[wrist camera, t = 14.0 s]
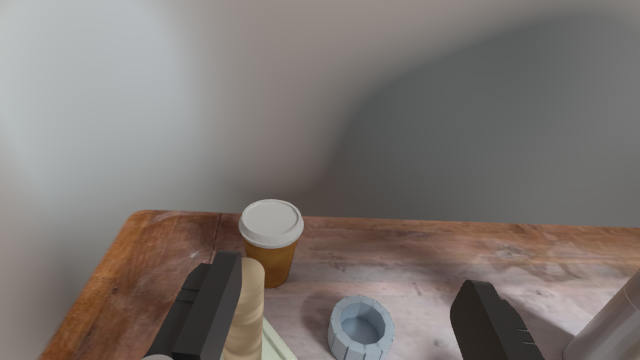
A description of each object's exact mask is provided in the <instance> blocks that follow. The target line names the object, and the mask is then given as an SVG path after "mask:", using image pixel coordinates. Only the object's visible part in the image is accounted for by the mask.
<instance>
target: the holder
mask: <svg viewBox="0 0 640 360" xmlns="http://www.w3.org/2000/svg"><path fill="white" fill-rule="evenodd" d="M387 311H388V310H387V309H385V308H384V307H383V306H382V305H381V304H380V303H379V302H377V301H375V300H374V299H371V298H368V297H365V296H362V295H361V297H360V295H356V296H347V297H345V298H343V299H342V300H341V301H339V302H338V303H337V304H335V306H334V309H333V312H332V315H331V318H330V323H329V327H328V332H327V336H328V344H329V348H330V350H331V352H332V354H333V355H334V357H335V358H336V359H337V360H384V359H385V358H386V357H387V354H388V352H389V350H390V347H391V345H392V342H393V339H394V330H395V327H394V323H393V320H392V318H391V316H390V314H389V312H387Z"/></svg>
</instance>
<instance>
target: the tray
mask: <svg viewBox="0 0 640 360" xmlns="http://www.w3.org/2000/svg"><path fill="white" fill-rule="evenodd" d="M220 360H224V357H223V351H222V354H221V357H220ZM262 360H298V359H297V358H296V357H295V355H294V354H293V353H292V352H291V350H290V349H289V348H288V347H287V345H286V344H285V343H284V341H283V340H282V339H281V338H280V336H279V335H278V334H277V333H276V331H275V330H274V329H273V327H272V326H271V325H270V324H269V322H268V321H267V320H266V319H265V317H264V316H263V333H262Z"/></svg>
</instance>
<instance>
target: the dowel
mask: <svg viewBox="0 0 640 360" xmlns="http://www.w3.org/2000/svg"><path fill="white" fill-rule="evenodd" d="M264 277H265V272H264V268H263V266H262V265H261V264H260V263H259V262H258V261H256V260H255V259H252V258H247V257H242V288H241V293H240V297H239V301H238V304H237V307H236V310H235V313H234V316H233V320H232V323H231V326H230V329H229V332H228V335H227V338H226V341H225V345H224V348H223V357H224V360H262V333H263V305H264Z"/></svg>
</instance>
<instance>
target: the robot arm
mask: <svg viewBox="0 0 640 360" xmlns="http://www.w3.org/2000/svg"><path fill="white" fill-rule="evenodd" d="M241 288H242V255H241V252H236V251H228V250H219V251H218V252H217V254H216V256H215V258H214V260H213V263H212V264H204V263H201V264H200V265H198V266H197V267H196V268H195V269H194V270H193V271H192V272H191V273H190V274H189V275H188V277H187V279H186V280H185V282H184V284H183V286H182V288H181V291H180V292H179V294H178V296H177V298H176V299H175V303H173V305H172V307H171V309H170V311H169V313H168V315H167V316H166V318H165V320H164V322H163V324H162V326H161V328H160V330H159V332H158V334H157V335H156V337H155V339H154V341H153V343H152V345H151V347H150V348H149V350H148V352H147V353H146V354H145V355H144V357H143V358H142V359H141V360H220V357H221V354H222V351H223V348H224V345H225V341H226V338H227V335H228V332H229V329H230V326H231V323H232V320H233V316H234V313H235V310H236V307H237V304H238V301H239V297H240V293H241ZM450 321H451V325H452V328H453V331H454V334H455V337H456V340H457V342H458V345H459V348H460V351H461V354H462V357H463V360H545V359H544V358H543V356H542V354H541V352H540V351H539V349H538V347H537V346H536V345H535V344H534V343H535V342H534V340H533V338H532V336H531V335H530V333H529V332H527V328H526V326H525V324H524V322H523V320H522V319H521V317H520V315H519V314H518V313H517V312H516V310H515V309H514V308H513V307H512V306H511V305H510V304H509V303H508V302H507V301H506V300H502V299H500V297H499V296H498V294H497V292H496V290H495V288H494V286H493V285H492V284H491V283H489V282H482V281H473V280H466V281H465V282H464V283H463V285H462V287H461V289H460V291H459V293H458V295H457V296H456V298H455V300H454V302H453V304H452V306H451V309H450ZM563 359H564V360H640V269H639V270H638V271H637V272H636V273H635V274H634V275H633V276H632V277H631V278H630V279H629V280H628V282H627V283H626V284H625V285H624V286H623V287H622V288H621V289H620V290H619V291H618V292H617V294H616V295H615V296H614V297H613V298H612V299H611V300H610V301H609V302H608V303H607V304H606V305H605V306H604V307H603V308H602V309H601V311H600V312H599V313H598V314H597V315H596V316H595V317H594V318H593V319H592V320H591V321H590V322H589V323H588V324H587V325H586V327H585V328H584V329H583V330H582V331H581V332H580V333H579V334H578V335H577V336H576V337H575V338H574V339H573V340H572V341H571V342H570V343H569V344H568V346H567V347H566V348H565V349H564V352H563Z"/></svg>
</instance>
